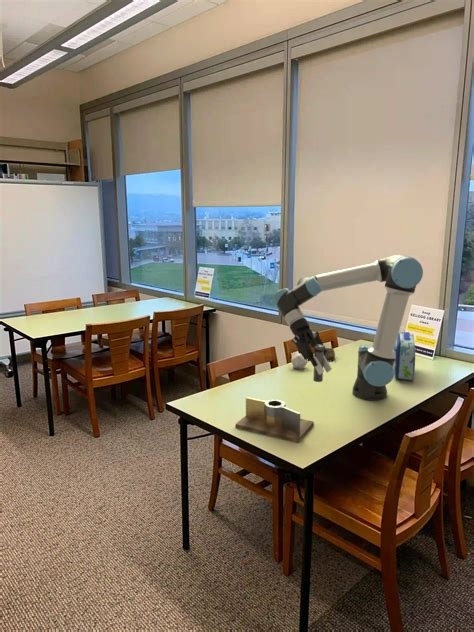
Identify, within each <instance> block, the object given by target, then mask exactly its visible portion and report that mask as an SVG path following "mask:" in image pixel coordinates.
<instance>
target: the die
mask: <svg viewBox="0 0 474 632" xmlns="http://www.w3.org/2000/svg"><path fill="white" fill-rule="evenodd" d="M291 357H292V358H291V359H290V362H291V365H292V367H293V369H299V370H304V369H305V367H306V366H307V364H308V361H307V360H308V359H307V360H305V359H304V358H303V356H302V354H301V353H300V352H299V353H298V352H295V353H294V354H293V355H292V356H291Z"/></svg>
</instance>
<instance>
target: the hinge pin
mask: <svg viewBox="0 0 474 632" xmlns="http://www.w3.org/2000/svg"><path fill="white" fill-rule="evenodd" d="M325 348H326V345H325V344H324V345H320V344H316V345H313V348H312V350H314V352H313V355H314V357H317V359H318V361H319V363H320V364H321V366H322V368H323V369H324V367H323V357H324V350H325ZM323 376H324V372H323V373H322V374H320V375H319V374H318V372H317V370H316V368H315V367H314V366H313V376H312V377H313V382H315V383H321V382H323V379H324V378H323Z"/></svg>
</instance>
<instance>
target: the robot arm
mask: <svg viewBox="0 0 474 632" xmlns="http://www.w3.org/2000/svg"><path fill="white" fill-rule="evenodd" d="M423 275H424V270H423V267H422V264H421V263H420V262H419V261H418V260H417V259H416V258H414V257H412V256H407V255H406V254H396V255H395V254H394V255H392V256H389V257H384V258H381V259H377V260H375V261H374V262H373V263H369V264H364V265H359V266H355V267H351V268H350V267H349V268H346V269H340V270H335V271H330V272H325V273H321V274H317V275H312V276H303V277H300V278H299V279H298V282H297V284H296V286H295V287H293V288H292V289H290V290H289V288H285V287H284V288H282V289H279V290H278V291H276V292H275V293H274V295H273V300H274V302H275V304H276V307H277V308H278V310H279V311H280V313H281V315H282V317H283V318H284V320H285V322H286V324H287V326H288V327H289V329H290V331H291V333H292V334H293V335H294V337H293V338H292V339H291V342H292V343H294V345H295V347H297V349H298V352H299V353H301V354H302V356H303V358H304V359H305V360H307V362H310V363H311V365H312V366H313V368H314V367H315V368H316V370H317V372H318V374H319V375H320V374H322V373H323V374H324V372H326V373H329V372H331V371H332V370H333V368H332V366H331V364H330V363H329V361H328V360H327V358H326V356H325V354H326V353H327V350H326V348H327V347H325V350H324V357H323V368H322V366H321V364H320V363H319V361H318V359H317V357H314V352H313V345H316V344H320V345H324V346H325V344H324V342H323V341H322V338H321V337H320V333H319V332H318V331H315V332H314V331H313V330H311V329H310V324H309V322H308V320H307V319H306V317H305V315H304V314H303V311H302V310H301V308H300V306H302V305H303V304H304V303H306V302H308V301H309V300H312V299H313V298H315V297H317V295H320V293H322V292H326V291H330V290H337V289H340V288H341V289H342V288H347V287H350V286H356V285H361V284H366V283H372V282H376V281H377V282H378V283H383V282H385V284H384V288H385V289H386V295H385V299H384V302H383V306H382V309H381V313H380V316H379V320H378V323H377V328H376V331H375V335H374V340H373V343H372V344H361V345H360V346H359V347H358V351H357V354H358V355H357V356H358V357H357V372H356V375H357V376H356V378H355V382H354V384H353V385H352V394H353V396H355V397H357V398H358V399H359V398H360V399H363V400H367V401H381V400H384V399H387V396H388V388H387V386H386V385H388V384H390V383H391V382H392V380H394V378H395V376H394V369H393V365H394V362H395V358H396V356H395V354H394V352H393V351H394V347H395V344H396V340H397V337H398V333H399V334H400V330H401V326H402V322H403V319H404V315H405V312H406V308H407V305H408V301H409V297H410V296H412V295H413V294H415V292H416V288H417V285H419V284H420V282H421V280H422V279H423ZM311 347H312V348H311Z"/></svg>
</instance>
